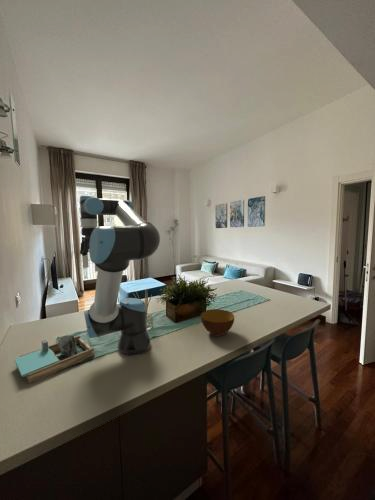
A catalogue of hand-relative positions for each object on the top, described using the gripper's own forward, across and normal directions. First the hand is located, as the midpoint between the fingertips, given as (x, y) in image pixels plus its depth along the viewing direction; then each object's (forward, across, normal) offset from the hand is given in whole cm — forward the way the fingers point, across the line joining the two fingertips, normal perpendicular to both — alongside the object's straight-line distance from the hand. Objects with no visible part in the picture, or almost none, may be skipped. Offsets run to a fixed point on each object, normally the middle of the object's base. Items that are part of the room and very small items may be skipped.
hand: (91, 269), depth 111 cm
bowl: (+36, -48, -44) cm, 74 cm away
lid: (+33, -8, +28) cm, 44 cm away
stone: (+36, -7, +16) cm, 40 cm away
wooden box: (+36, -8, +20) cm, 42 cm away
